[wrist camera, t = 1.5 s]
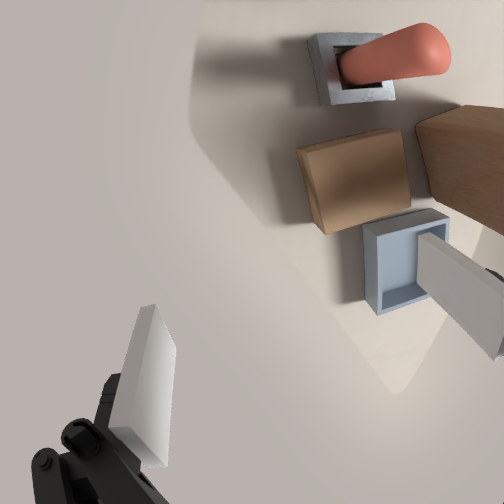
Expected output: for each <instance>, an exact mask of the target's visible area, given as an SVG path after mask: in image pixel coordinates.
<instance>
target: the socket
mask: <svg viewBox="0 0 504 504" xmlns="http://www.w3.org/2000/svg"><path fill="white" fill-rule="evenodd" d="M382 36H383V34H380V33H321V34H315V35H314V36H313V37H311V38H310V39H309V40H307V44H308V49H309V53H310V57H311V62H312V66H313V71H314V75H315V80H316V85H317V90H318V95H319V100H320V105H321V106H328V105H338V104H347V103H358V102H370V101H385V100H396V98H395V92H394V86H393V80H388V81H382V82H375V83H369V84H368V88H365V89H351V90H342V87H341V82H340V77H339V72H338V67H337V63H336V58H335V54H334V51H348V50H351V49H353V48H355V47H358V46H360V45H362V44H365V43H367V42H370V41H372V40H375V39H377V38H380V37H382Z"/></svg>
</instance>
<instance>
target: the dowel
mask: <svg viewBox="0 0 504 504" xmlns="http://www.w3.org/2000/svg"><path fill="white" fill-rule="evenodd" d="M335 58H336V63H337V67H338V72H339V77H340V82H341V86H344V87H352V86H358V85H363V84H369V83H375V82H382V81H388V80H395V79H403V78H411V77H420V76H430V75H440V74H443V73H445V72H446V71H447V70H448V68H449V66H450V63H451V51H450V47H449V45H448V42H447V40H446V39H445V37H444V36H443V34H442V33H441V32H440V31H439V30H438V29H437V28H435V27H434V26H432V25H430V24H427V23H419V24H415V25H412V26H410V27H407V28H404V29H401V30H398V31H396V32H393V33H390V34H387V35H385V36H382V37H380V38H377V39H375V40H372V41H370V42H367V43H365V44H362V45H360V46H358V47H355V48H353V49H351V50H348V51H346V52H344V53H342V54H340V55H337V56H335Z"/></svg>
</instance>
